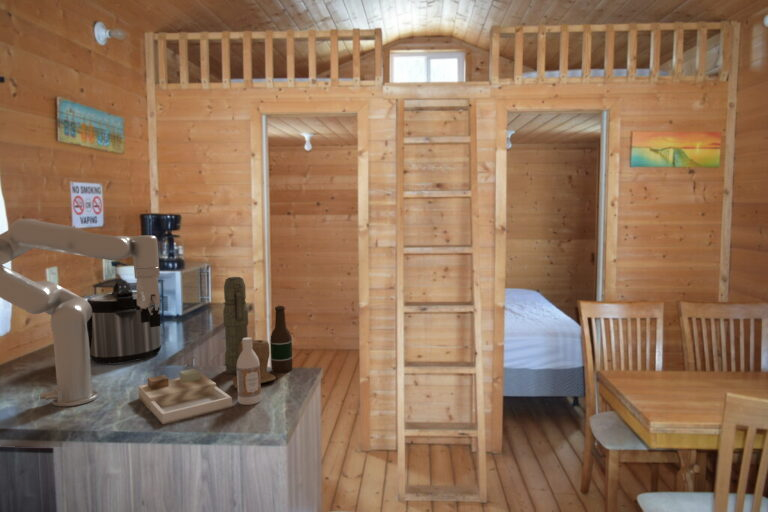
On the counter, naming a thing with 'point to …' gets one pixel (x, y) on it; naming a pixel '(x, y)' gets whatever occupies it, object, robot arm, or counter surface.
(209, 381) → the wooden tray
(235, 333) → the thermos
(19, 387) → the counter surface
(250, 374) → the bath foam
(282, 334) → the beer bottle
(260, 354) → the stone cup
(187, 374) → the sage tile
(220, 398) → the box
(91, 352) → the pressure cooker
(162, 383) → the walnut tile
